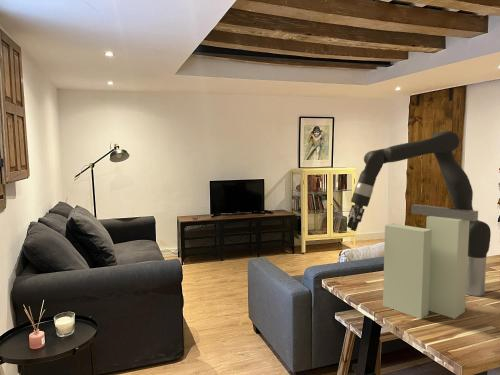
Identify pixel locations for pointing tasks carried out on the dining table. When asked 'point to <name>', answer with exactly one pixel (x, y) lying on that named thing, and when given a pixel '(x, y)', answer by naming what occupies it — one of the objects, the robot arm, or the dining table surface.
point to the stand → (448, 265)
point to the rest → (407, 269)
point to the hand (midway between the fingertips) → (351, 229)
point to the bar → (445, 212)
